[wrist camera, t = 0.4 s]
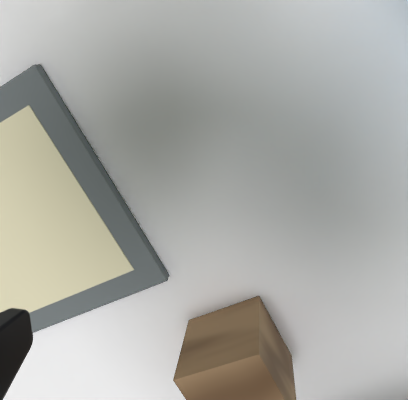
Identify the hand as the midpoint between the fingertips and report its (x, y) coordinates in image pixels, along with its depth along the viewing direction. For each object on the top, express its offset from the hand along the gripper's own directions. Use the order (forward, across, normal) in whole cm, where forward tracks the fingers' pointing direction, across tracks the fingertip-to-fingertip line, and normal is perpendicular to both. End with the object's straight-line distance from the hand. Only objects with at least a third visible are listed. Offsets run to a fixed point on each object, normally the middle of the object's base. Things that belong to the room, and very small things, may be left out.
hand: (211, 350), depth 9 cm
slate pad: (+13, +15, +5) cm, 21 cm away
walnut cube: (+14, -1, +11) cm, 17 cm away
